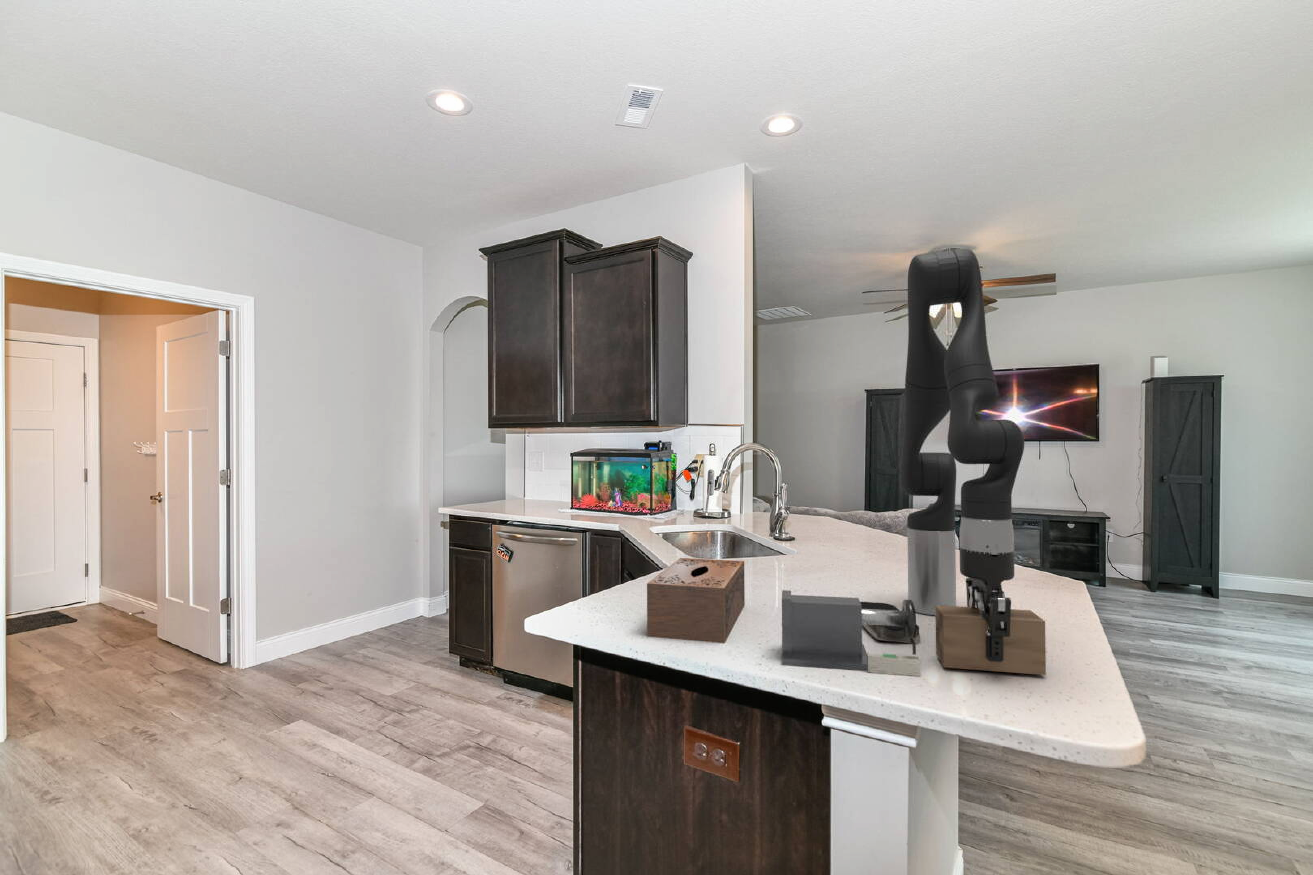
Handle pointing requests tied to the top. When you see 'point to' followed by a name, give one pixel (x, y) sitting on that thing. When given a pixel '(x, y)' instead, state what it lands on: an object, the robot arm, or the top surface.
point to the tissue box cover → (696, 600)
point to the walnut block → (967, 641)
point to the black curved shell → (887, 631)
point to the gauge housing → (833, 637)
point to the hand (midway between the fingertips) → (987, 652)
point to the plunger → (894, 619)
